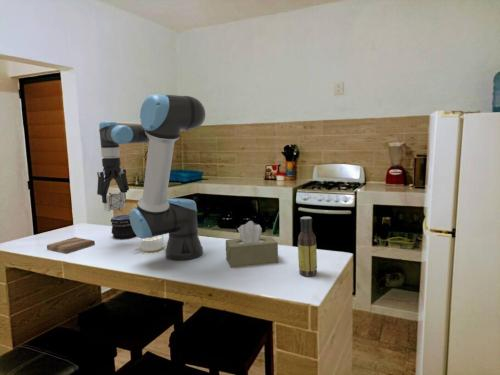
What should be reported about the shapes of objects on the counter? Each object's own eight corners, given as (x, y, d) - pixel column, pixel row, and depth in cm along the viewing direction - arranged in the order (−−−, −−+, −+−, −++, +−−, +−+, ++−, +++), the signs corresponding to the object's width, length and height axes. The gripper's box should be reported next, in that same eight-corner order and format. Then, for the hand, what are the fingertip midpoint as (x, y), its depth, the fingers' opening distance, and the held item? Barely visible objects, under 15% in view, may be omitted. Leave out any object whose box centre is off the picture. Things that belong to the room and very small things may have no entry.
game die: (120, 217, 169) (132, 198, 171) (113, 215, 161) (125, 195, 162) (104, 207, 170) (116, 188, 172) (96, 205, 162) (108, 185, 163)
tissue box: (271, 255, 151) (271, 216, 148) (278, 263, 141) (278, 222, 139) (225, 259, 146) (224, 220, 144) (229, 268, 137) (228, 226, 135)
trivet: (94, 245, 171) (94, 240, 171) (66, 253, 159) (66, 248, 159) (75, 241, 178) (75, 236, 178) (47, 249, 166) (46, 244, 166)
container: (133, 239, 179) (132, 219, 177) (107, 240, 179) (105, 219, 178) (142, 232, 191) (141, 213, 190) (117, 233, 192) (116, 214, 190)
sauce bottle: (314, 270, 132) (314, 215, 129) (318, 276, 126) (318, 219, 123) (296, 271, 132) (296, 215, 129) (300, 277, 126) (299, 219, 123)
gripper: (123, 155, 174) (127, 203, 178) (84, 159, 157) (89, 212, 160) (135, 155, 171) (138, 205, 174) (96, 159, 153) (101, 213, 156)
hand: (115, 208), depth 167 cm, fingers closed on game die, 8 cm apart
